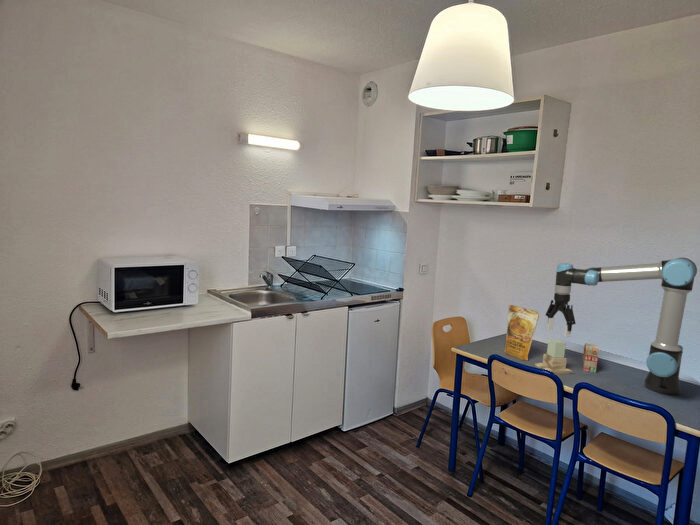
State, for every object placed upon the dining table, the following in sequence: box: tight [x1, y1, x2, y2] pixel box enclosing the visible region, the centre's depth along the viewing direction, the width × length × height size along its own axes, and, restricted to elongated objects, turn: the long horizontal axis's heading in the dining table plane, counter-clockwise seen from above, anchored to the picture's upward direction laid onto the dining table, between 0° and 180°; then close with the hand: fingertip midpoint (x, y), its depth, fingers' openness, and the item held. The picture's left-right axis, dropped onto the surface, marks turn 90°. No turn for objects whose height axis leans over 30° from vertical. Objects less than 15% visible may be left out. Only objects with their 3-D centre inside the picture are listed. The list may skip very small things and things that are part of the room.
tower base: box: [534, 353, 574, 375], centre depth 251 cm, size 14×13×7 cm
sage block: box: [546, 338, 567, 358], centre depth 251 cm, size 6×6×8 cm
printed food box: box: [582, 343, 600, 374], centre depth 260 cm, size 21×6×12 cm, turn 155°
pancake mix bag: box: [504, 304, 540, 361], centre depth 270 cm, size 7×19×28 cm, turn 31°
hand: (558, 333), depth 249 cm, fingers open, 13 cm apart
